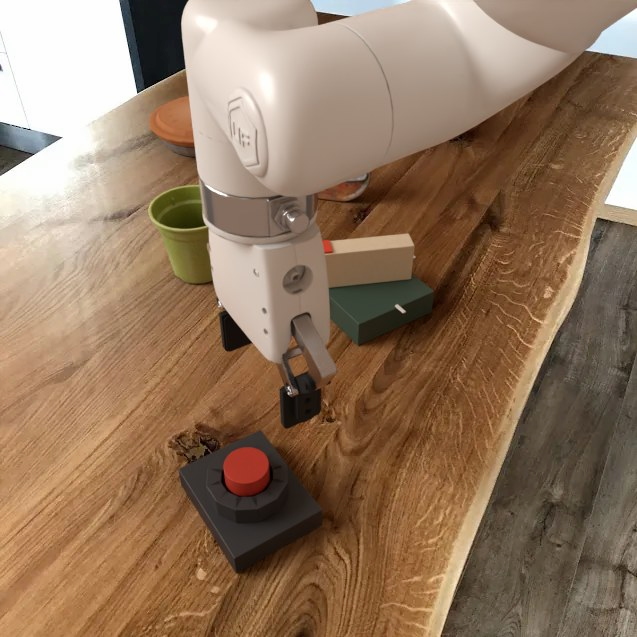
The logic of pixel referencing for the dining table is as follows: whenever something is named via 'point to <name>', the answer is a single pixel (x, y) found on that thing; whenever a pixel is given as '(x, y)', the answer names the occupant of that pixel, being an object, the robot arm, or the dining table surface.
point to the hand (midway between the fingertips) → (269, 379)
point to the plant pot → (183, 232)
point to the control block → (250, 505)
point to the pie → (175, 126)
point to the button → (246, 471)
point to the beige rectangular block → (369, 260)
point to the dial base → (378, 306)
